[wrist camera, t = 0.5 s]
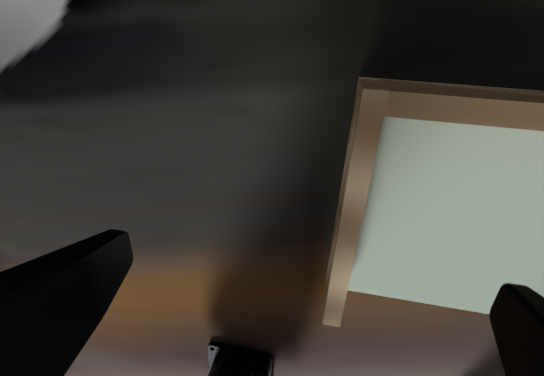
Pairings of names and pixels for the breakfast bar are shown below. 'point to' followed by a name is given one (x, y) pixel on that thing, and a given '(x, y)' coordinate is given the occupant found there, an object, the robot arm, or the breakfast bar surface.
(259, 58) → the breakfast bar surface
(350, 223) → the corner walls
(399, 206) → the mat
